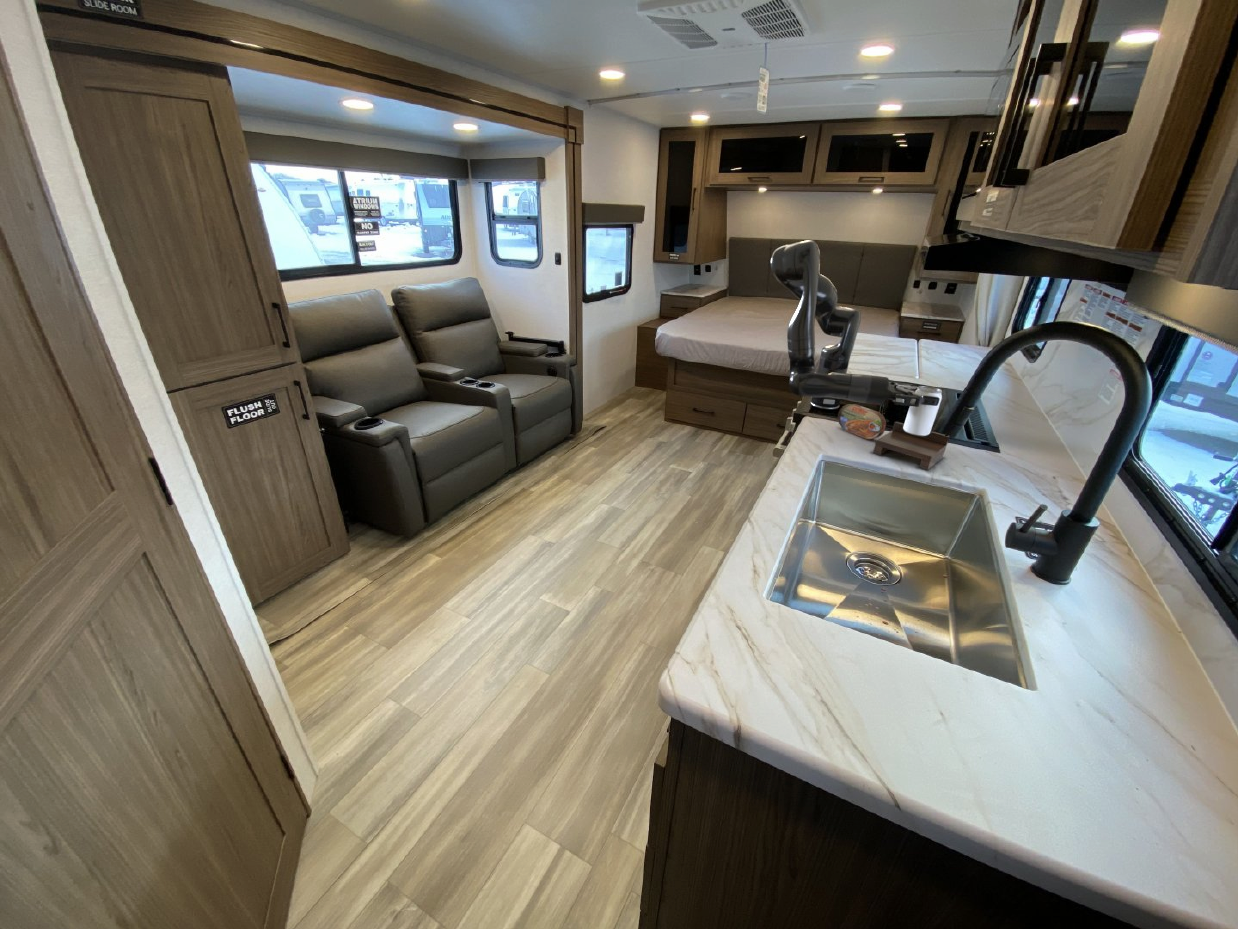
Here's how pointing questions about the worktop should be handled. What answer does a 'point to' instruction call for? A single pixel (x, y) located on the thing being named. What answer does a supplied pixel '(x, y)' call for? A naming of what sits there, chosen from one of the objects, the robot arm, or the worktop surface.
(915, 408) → the can
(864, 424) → the tin
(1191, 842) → the worktop surface
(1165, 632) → the worktop surface
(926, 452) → the bench
